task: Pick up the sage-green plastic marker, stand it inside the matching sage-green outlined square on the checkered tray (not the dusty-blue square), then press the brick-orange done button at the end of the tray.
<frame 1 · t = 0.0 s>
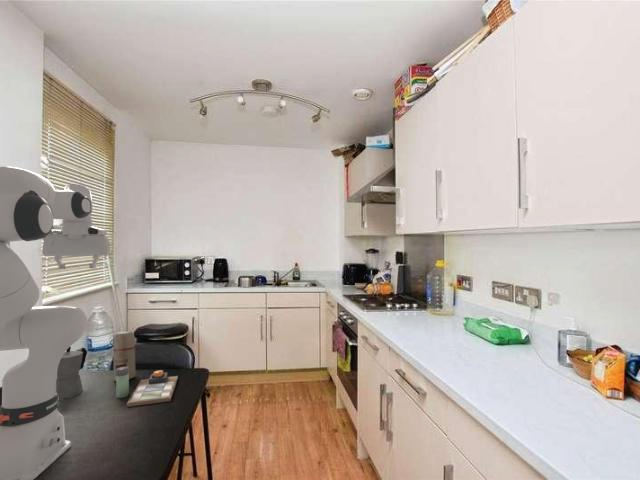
hand: (77, 268, 121), 48 cm above the table, tool pointing down, fingers open, 8 cm apart
coffeepot: (70, 393, 128), on the table
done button: (158, 374, 136), point 4 cm above the table, slide at 0.0 cm
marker: (122, 395, 125), on the table
checkered tray: (154, 391, 129), on the table
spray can: (124, 379, 142), on the table
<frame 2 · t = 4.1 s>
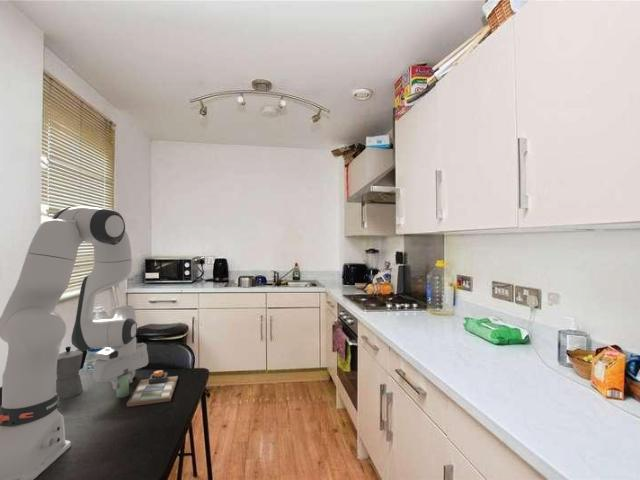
hand: (122, 385, 125), 4 cm above the table, tool pointing down, fingers closed on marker, 4 cm apart
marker: (122, 395, 125), on the table, touching gripper
everything else where it was.
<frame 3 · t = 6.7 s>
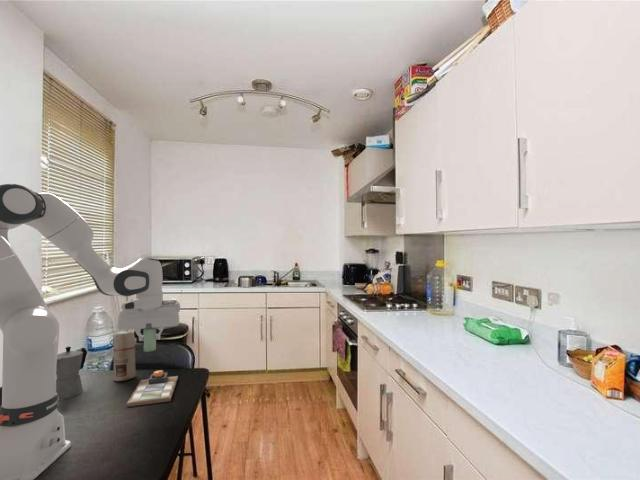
hand: (149, 340, 123), 21 cm above the table, tool pointing down, fingers closed on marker, 4 cm apart
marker: (149, 349, 123), point 18 cm above the table, touching gripper
everything else where it was.
when the fingers open (6 cm above the table, at t = 9.3 s): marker stays where it is, resting on checkered tray.
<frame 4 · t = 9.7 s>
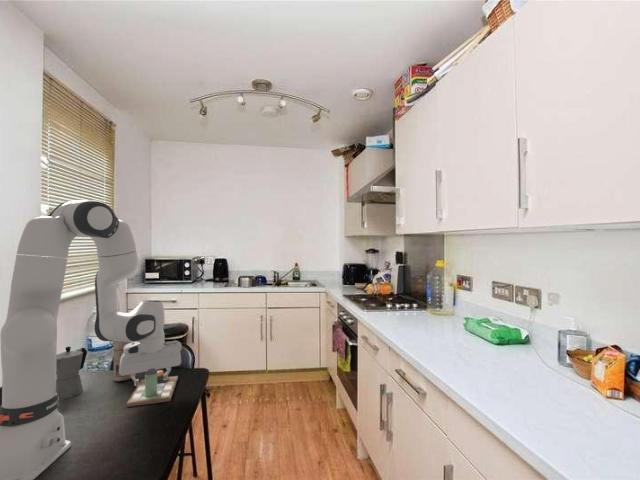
hand: (151, 382, 122), 6 cm above the table, tool pointing down, fingers open, 8 cm apart
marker: (151, 394, 122), point 1 cm above the table, touching checkered tray
everything else where it was.
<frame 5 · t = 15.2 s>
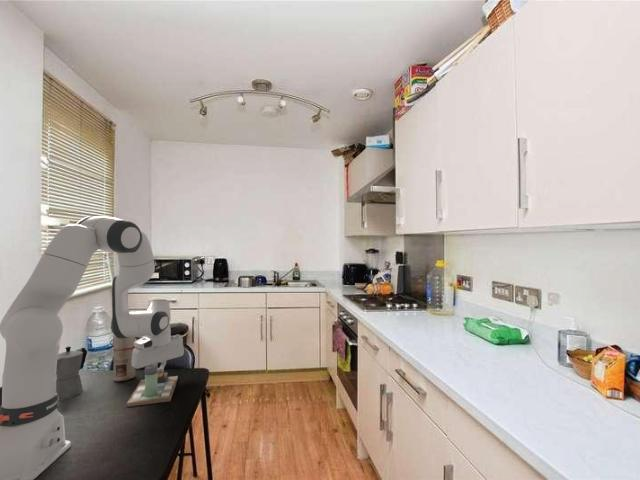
hand: (159, 372, 136), 4 cm above the table, tool pointing down, fingers closed, pressing on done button
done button: (158, 375, 136), point 3 cm above the table, slide at 0.5 cm, touching gripper
everything else where it was.
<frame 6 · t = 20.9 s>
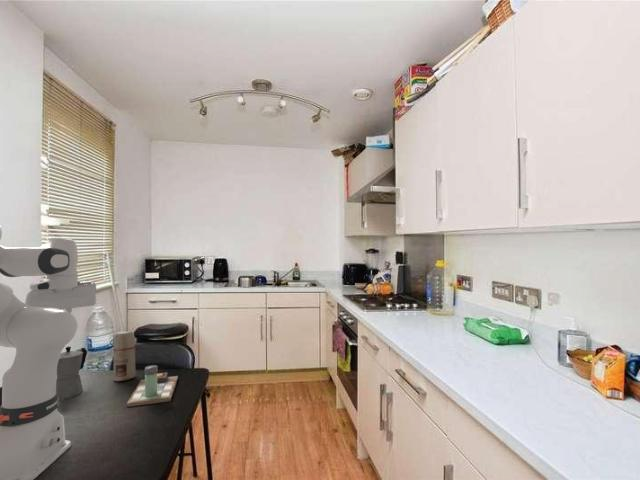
hand: (62, 321, 120), 29 cm above the table, tool pointing down, fingers closed
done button: (158, 377, 136), point 3 cm above the table, slide at 1.3 cm
everything else where it was.
at the end: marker 0.0 cm from the target spot on the checkered tray, point 1.4 cm above the checkered tray's base; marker tilted 0°; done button slide at 1.3 cm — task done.
